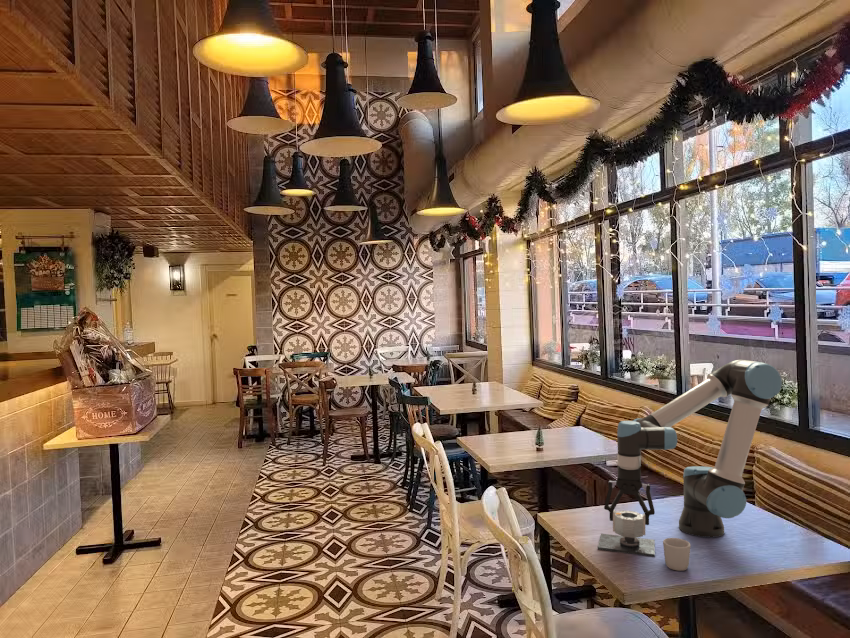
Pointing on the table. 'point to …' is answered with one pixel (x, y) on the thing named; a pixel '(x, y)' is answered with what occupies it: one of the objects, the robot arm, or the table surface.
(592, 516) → the table surface
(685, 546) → the cup
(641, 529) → the ring
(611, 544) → the plate with peg
